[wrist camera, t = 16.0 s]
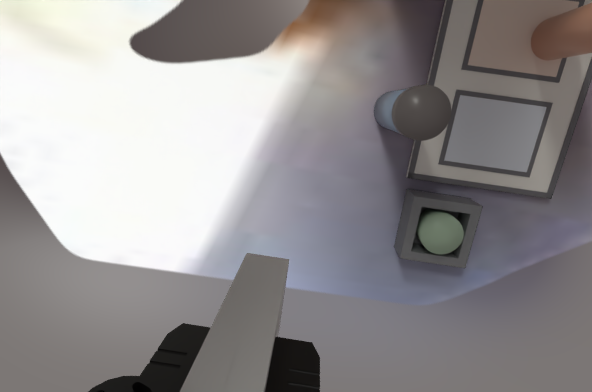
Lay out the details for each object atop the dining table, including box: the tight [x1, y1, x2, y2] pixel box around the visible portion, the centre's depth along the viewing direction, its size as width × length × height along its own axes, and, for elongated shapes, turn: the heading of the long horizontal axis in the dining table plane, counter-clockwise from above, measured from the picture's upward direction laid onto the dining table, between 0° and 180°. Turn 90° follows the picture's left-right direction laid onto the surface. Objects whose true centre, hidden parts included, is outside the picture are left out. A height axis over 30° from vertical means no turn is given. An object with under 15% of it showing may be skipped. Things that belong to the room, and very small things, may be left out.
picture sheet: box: [406, 0, 592, 199], centre depth 37 cm, size 22×16×1 cm
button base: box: [394, 189, 483, 268], centre depth 40 cm, size 7×7×3 cm
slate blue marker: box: [374, 85, 451, 141], centre depth 33 cm, size 4×4×12 cm
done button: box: [416, 208, 464, 254], centre depth 39 cm, size 4×4×3 cm
